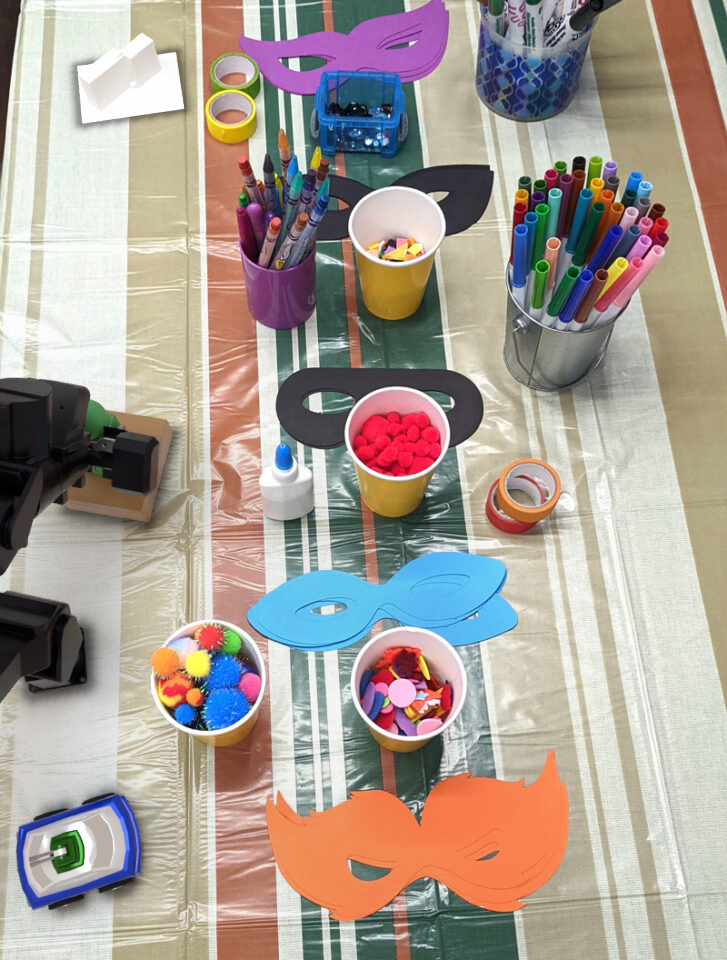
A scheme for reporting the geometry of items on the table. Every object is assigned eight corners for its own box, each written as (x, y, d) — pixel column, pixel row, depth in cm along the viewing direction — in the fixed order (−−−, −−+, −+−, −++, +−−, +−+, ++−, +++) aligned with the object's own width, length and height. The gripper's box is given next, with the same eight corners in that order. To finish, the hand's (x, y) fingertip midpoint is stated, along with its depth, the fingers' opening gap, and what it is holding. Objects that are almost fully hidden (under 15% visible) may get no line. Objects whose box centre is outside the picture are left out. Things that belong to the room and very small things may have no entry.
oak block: (149, 522, 106) (141, 511, 103) (68, 509, 107) (58, 498, 103) (173, 432, 111) (166, 419, 107) (96, 420, 111) (87, 406, 108)
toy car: (24, 823, 94) (-12, 823, 86) (134, 786, 96) (110, 783, 87) (39, 915, 91) (4, 925, 82) (153, 876, 92) (130, 882, 84)
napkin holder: (82, 124, 128) (70, 94, 123) (76, 66, 132) (63, 34, 127) (185, 108, 129) (177, 77, 124) (175, 51, 134) (167, 18, 128)
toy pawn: (127, 481, 104) (95, 436, 92) (86, 473, 105) (50, 427, 92) (139, 443, 106) (110, 394, 94) (99, 435, 106) (65, 385, 94)
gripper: (130, 418, 81) (186, 371, 96) (-61, 382, 83) (22, 340, 97) (126, 525, 86) (180, 464, 100) (-55, 488, 87) (23, 434, 102)
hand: (101, 424), depth 100 cm, fingers open, 5 cm apart
